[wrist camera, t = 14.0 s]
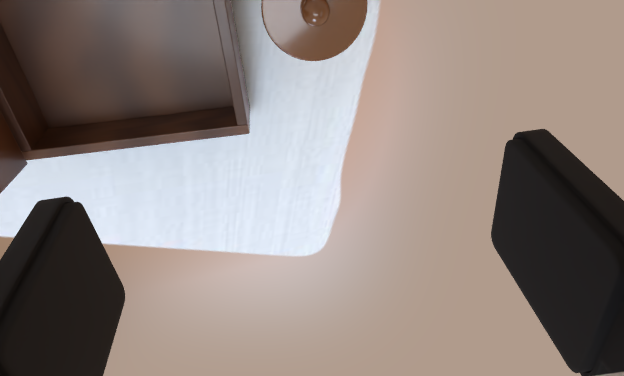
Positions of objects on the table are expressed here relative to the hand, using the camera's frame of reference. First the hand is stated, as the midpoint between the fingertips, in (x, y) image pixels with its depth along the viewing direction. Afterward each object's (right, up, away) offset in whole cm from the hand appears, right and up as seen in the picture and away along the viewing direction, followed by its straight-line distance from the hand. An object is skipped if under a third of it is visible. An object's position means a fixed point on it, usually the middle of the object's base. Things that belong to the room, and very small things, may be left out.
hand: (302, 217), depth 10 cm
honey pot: (-1, +16, +22) cm, 27 cm away
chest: (-14, +12, +24) cm, 30 cm away
